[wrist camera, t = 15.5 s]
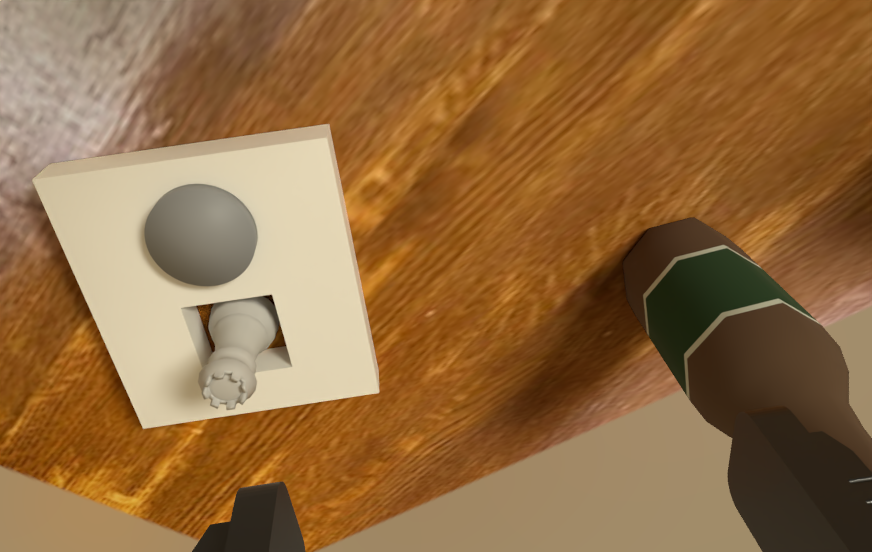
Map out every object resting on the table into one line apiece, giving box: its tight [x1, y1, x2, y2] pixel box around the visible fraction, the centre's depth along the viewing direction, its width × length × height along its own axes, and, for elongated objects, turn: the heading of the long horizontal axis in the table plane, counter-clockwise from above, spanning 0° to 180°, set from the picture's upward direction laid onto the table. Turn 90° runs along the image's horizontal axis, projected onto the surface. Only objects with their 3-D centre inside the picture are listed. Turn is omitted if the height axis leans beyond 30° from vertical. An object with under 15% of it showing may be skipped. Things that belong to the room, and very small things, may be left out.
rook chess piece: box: [198, 296, 280, 410], centre depth 41 cm, size 4×4×8 cm
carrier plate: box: [32, 124, 379, 429], centre depth 42 cm, size 18×16×4 cm
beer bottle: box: [623, 218, 872, 472], centre depth 36 cm, size 8×8×24 cm
